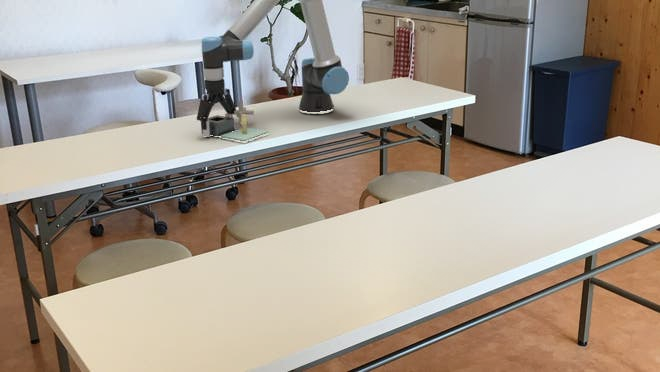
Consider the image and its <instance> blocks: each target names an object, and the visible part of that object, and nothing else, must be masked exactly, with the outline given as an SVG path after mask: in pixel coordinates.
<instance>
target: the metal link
mask: <svg viewBox="0 0 660 372" xmlns="http://www.w3.org/2000/svg"><path fill="white" fill-rule="evenodd" d="M207 121H209V132H210V135H213V136H221V135H224V134H227V133H230V132H232V131H236V130H235V118H234V117H232V118H230V117H225V116H224V115H213V116H210V117H208V119H207ZM200 129H201V135H202V134H203V129H202V125H201V124H200Z"/></svg>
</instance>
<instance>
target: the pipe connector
mask: <svg viewBox="0 0 660 372" xmlns="http://www.w3.org/2000/svg"><path fill="white" fill-rule="evenodd" d="M237 102H238V105H237V106H238V109H236V111H234V114H232V116H233V115H236V117H237V118H239V123H240V122H241V115H243V114H245V115H246V116H247V115H248V116H249V115H250V116H253V115H254V114H255V110H252V109H250V110H249V109H248V110H247V108H246V107H244V103H243V102H244V101H243V99H238V100H237Z"/></svg>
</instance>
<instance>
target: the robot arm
mask: <svg viewBox="0 0 660 372" xmlns="http://www.w3.org/2000/svg"><path fill="white" fill-rule="evenodd" d="M280 1H281V0H253V1H252V2H251V3H250V5H249V6H248V7H247V8H246V9H245V10H244V11H243V12H242V14H240V16H238V18H237V19H236V21H234V23H233V24H232V25H231V26H230V27H229V28H228V29H227V30H226V31H225V33H224V34H223V35H219V36H206V37H203V38H202V39H201V54H202V55H201V57H202V67H203V78H204V80H203V81H204V82H203V83H204V89H205V90H206V94H200V96H199V97H200V100H199V105H198V111H197V115H196V120H197V121H199V122H200V126H201V125H202V129H203V135H202V136H206V137H210V132H209V121H207V119H208V118H209V116H210V114H211V111H212V109H213V107H214V106H215V104H218V103H219V105H220V106H222V108H223V109H224V111H225V113H224V115H225V116H224V117H230V118H233V115H232V114H234V111H236V110H237V108H236V105H235V103H234V101H233V98H232V95H231V90H230V88H226V87H225V85H226V84H225V79H224V77H225V70H224V68H225V67H224V63H226V62H237V61H248V60H251V59H253V57H254V51H255V50H254V46H253V45H254V44H253V42H252V41H251V40H249V39H247V38H248V37H249V36H250V35H251V34H252V33H253V32H254V30H255V29H256V28H257V27H258V26H259V25H260V24H261V23H262V21H263V20H264V19H265V18H266V17H267V16H268V14H270V12H272V10H273V9H274V8H275V7H276V6H277V5H278V3H279V2H280ZM296 1H297V2H299V3H300V7H301V11H302V15H303V18H304V22H305V27H306V29H307V34H308V39H309V43H310V46H311V49H312V54H313V57H311V58H304V59H303V60H302V61H301V83H302V95H301V98H300V103H299V105H298V110H299V109H300V110H302V111H307V112H320V111H327V110H331V109H333V108H334V109H335V105H334V103H333V99H332V96H331V95H339V94H341V93H342V92H344V91H345V89H346V88H347V86H348V85H349V82H350V76H349V72H348V70H347V69H346V68H344V67H343V65H342V60H341V57H340V56H338V55H337V54H336V51H335V48H334V44H333V39H332V35H331V32H330V31H331V30H330V27H329V24H328V18H327V14H326V11H325V8H324V7H325V6H324V2H323V0H296ZM210 138H211V137H210Z"/></svg>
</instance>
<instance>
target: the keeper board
mask: <svg viewBox="0 0 660 372" xmlns="http://www.w3.org/2000/svg"><path fill="white" fill-rule="evenodd" d="M247 121H248V119H247V115H245V114H243V115H241V123H242V125H241V128H239V129H236V130H235V131H233V132H230V133H227V134H224V135H221V137H222V138H228V139H234V140H240V141H246V140H249V139H252V138H255V137H258V136H260V135H263V134H266V133H268V132H269V130H263V129H257V128H251V127H248V123H247Z"/></svg>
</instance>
